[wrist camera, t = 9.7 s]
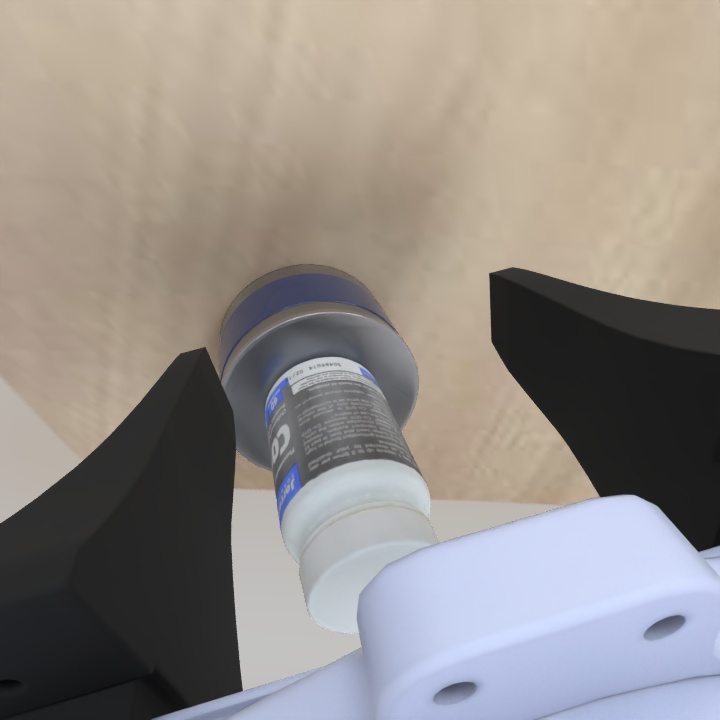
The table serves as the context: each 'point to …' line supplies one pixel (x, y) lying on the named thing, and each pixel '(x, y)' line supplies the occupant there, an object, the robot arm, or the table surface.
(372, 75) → the table surface
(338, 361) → the pill bottle
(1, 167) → the table surface
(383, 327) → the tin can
